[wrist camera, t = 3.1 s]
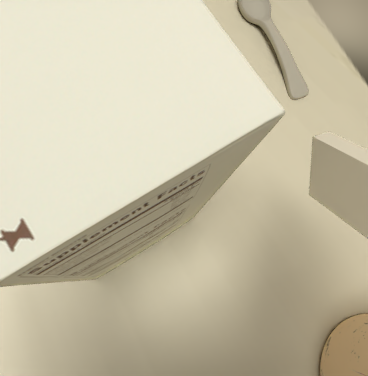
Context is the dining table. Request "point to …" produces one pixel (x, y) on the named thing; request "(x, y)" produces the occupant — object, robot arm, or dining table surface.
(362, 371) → the teacup with lid
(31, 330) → the dining table surface
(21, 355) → the dining table surface
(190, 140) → the supplement box
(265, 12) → the spoon
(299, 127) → the dining table surface
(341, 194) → the robot arm
